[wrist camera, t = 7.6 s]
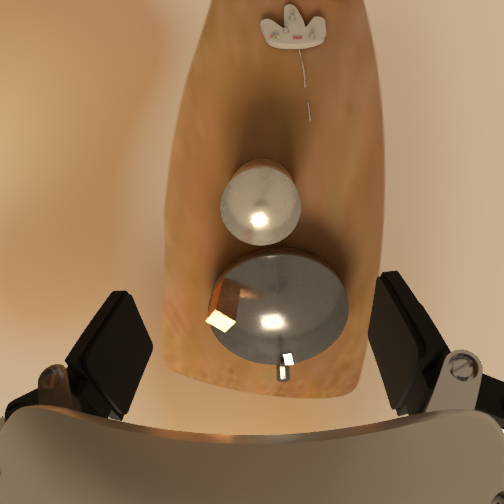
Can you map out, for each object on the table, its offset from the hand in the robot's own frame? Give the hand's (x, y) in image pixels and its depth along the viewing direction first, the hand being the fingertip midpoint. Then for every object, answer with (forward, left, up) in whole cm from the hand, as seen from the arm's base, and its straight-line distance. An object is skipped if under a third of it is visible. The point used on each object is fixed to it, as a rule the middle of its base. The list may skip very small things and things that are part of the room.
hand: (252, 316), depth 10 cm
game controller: (-12, +4, -19) cm, 23 cm away
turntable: (+13, 0, -17) cm, 21 cm away
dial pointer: (+22, 0, -18) cm, 28 cm away
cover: (0, 0, -18) cm, 18 cm away
